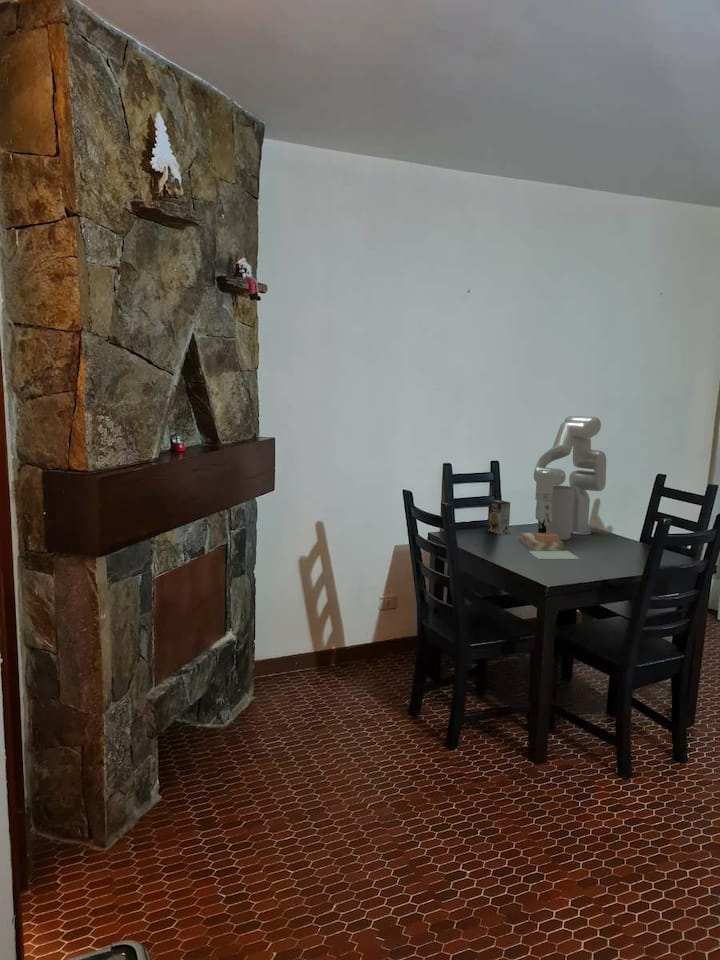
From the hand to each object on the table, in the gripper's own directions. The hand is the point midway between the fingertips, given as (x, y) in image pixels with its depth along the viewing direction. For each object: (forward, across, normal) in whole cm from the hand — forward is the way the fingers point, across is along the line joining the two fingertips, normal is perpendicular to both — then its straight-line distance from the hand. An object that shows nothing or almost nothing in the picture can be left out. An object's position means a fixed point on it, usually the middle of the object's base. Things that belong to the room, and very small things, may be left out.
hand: (541, 536), depth 321 cm
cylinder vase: (+5, +19, -14) cm, 24 cm away
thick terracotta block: (-1, -5, 0) cm, 5 cm away
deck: (+5, +2, 0) cm, 5 cm away
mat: (+5, -16, 0) cm, 17 cm away
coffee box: (+5, +30, +12) cm, 33 cm away
